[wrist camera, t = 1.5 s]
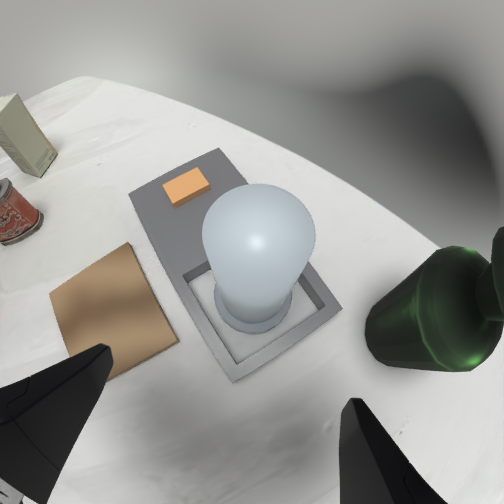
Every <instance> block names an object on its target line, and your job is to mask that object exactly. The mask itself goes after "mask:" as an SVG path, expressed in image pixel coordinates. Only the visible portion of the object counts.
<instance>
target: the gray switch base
mask: <svg viewBox="0 0 504 504" xmlns="http://www.w3.org/2000/svg"><path fill="white" fill-rule="evenodd" d="M243 185H248V183H247V181H246V180H245V179H244V178H243V176H242V175H241V174H240V173H239V171H238V170H237V169H236V168H235V166H234V165H233V164H232V163H231V162H230V160H229V159H228V158H227V157H226V156H225V154H224V153H223V152H222V151H221V149H220V148H217V149H215V150H212V151H210V152H208V153H206V154H204V155H202V156H199V157H197V158H195V159H193V160H191V161H189V162H187V163H185V164H183V165H181V166H179V167H177V168H175V169H173V170H171V171H169V172H167V173H165V174H163V175H162V176H160V177H158V178H156V179H154V180H152V181H150V182H149V183H147V184H145V185H143V186H141V187H140V188H138V189H136V190H134V191H133V192H131V193H129V197H130V199H131V201H132V204H133V206H134V208H135V210H136V212H137V214H138V217H139V219H140V221H141V223H142V225H143V227H144V229H145V231H146V234H147V236H148V238H149V240H150V242H151V244H152V246H153V248H154V250H155V252H156V254H157V256H158V258H159V260H160V262H161V264H162V265H163V267H164V269H165V271H166V273H167V275H168V277H169V279H170V281H171V282H172V284H173V286H174V288H175V290H176V292H177V293H178V295H179V297H180V299H181V301H182V302H183V304H184V306H185V308H186V309H187V311H188V313H189V315H190V316H191V318H192V320H193V322H194V323H195V325H196V327H197V328H198V330H199V332H200V333H201V335H202V337H203V338H204V340H205V342H206V343H207V345H208V346H209V348H210V350H211V351H212V353H213V355H214V356H215V358H216V359H217V361H218V362H219V364H220V365H221V367H222V369H223V370H224V372H225V373H226V375H227V376H228V378H229V379H230V381H231V382H232V383H234V382H236V381H237V380H239V379H241V378H242V377H244V376H246V375H247V374H249V373H251V372H252V371H254V370H256V369H257V368H259V367H260V366H262V365H263V364H265V363H267V362H268V361H270V360H271V359H273V358H274V357H276V356H277V355H279V354H280V353H282V352H283V351H285V350H286V349H288V348H289V347H291V346H292V345H294V344H295V343H297V342H298V341H300V340H301V339H302V338H304V337H305V336H307V335H308V334H310V333H311V332H312V331H314V330H315V329H317V328H318V327H319V326H321V325H322V324H323V323H325V322H326V321H327V320H329V319H330V318H331V317H333V316H334V315H335V314H337V313H338V312H339V311H341V310H342V309H343V308H342V307H341V305H340V304H339V302H338V301H337V300H336V298H335V297H334V296H333V294H332V293H331V291H330V290H329V289H328V287H327V286H326V284H325V283H324V282H323V280H322V279H321V278H320V276H319V275H318V274H317V272H316V271H315V269H314V268H313V267H312V265H311V264H310V263H309V261H308V262H307V264H306V266H305V267H304V269H303V271H302V273H301V274H300V276H299V278H298V279H297V280H298V281H299V283H300V284H301V286H302V287H303V288H304V290H305V291H306V293H307V294H308V295H309V297H310V298H311V300H312V301H313V302H314V304H315V305H316V307H317V308H318V309H319V311H318V312H316V313H315V314H314V315H312V316H311V317H309V318H308V319H307V320H305V321H304V322H302V323H301V324H299V325H298V326H296V327H295V328H294V329H292V330H291V331H289V332H288V333H286V334H285V335H283V336H282V337H280V338H279V339H277V340H276V341H274V342H273V343H271V344H269V345H268V346H266V347H265V348H263V349H262V350H260V351H259V352H257V353H255V354H254V355H252V356H251V357H249V358H247V359H246V360H244V361H242V362H241V363H239V364H238V365H237V363H236V362H235V360H234V359H233V357H232V356H231V354H230V353H229V351H228V350H227V348H226V346H225V345H224V343H223V342H222V340H221V339H220V337H219V335H218V334H217V332H216V331H215V329H214V327H213V326H212V324H211V322H210V321H209V319H208V318H207V316H206V314H205V313H204V311H203V309H202V308H201V306H200V304H199V303H198V301H197V299H196V297H195V296H194V294H193V292H192V291H191V289H190V287H189V285H188V284H187V282H189V281H191V280H192V279H194V278H196V277H197V276H199V275H201V274H203V273H204V272H206V271H208V270H209V269H211V266H210V263H209V260H208V257H207V254H206V251H205V248H204V245H203V240H202V227H203V222H204V219H205V216H206V214H207V212H208V210H209V209H210V207H211V206H212V204H213V203H214V202H215V201H216V200H217V199H218V198H219V197H220V196H222V195H223V194H224V193H226V192H228V191H230V190H232V189H234V188H236V187H240V186H243Z"/></svg>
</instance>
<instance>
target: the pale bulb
mask: <svg viewBox="0 0 504 504" xmlns="http://www.w3.org/2000/svg"><path fill="white" fill-rule="evenodd" d="M315 237H316V234H315V226H314V222H313V219H312V217H311V215H310V213H309V211H308V210H307V208H306V207H305V205H304V204H303V203H302V202H301V201H300V200H299V199H298V198H296V197H295V196H294V195H292V194H291V193H289V192H288V191H286V190H284V189H281V188H279V187H276V186H272V185H266V184H248V185H243V186H240V187H236V188H234V189H232V190H230V191H228V192H226V193H224V194H223V195H222V196H220V197H219V198H218V199H217V200H216V201H215V202H214V203H213V204H212V206H211V207H210V209H209V210H208V212H207V214H206V216H205V219H204V222H203V227H202V240H203V245H204V248H205V251H206V254H207V257H208V260H209V263H210V266H211V269H212V272H213V275H214V278H215V281H216V284H215V289H214V299H215V304H216V307H217V309H218V311H219V313H220V315H221V317H222V318H223V320H224V321H225V322H226V323H227V324H228V325H229V326H230V327H232V328H234V329H235V330H237V331H240V332H243V333H248V334H257V333H262V332H266V331H268V330H270V329H272V328H273V327H275V326H276V325H277V324H278V323H279V322H280V321H281V320H282V319H283V317H284V316H285V315H286V313H287V311H288V309H289V307H290V304H291V299H292V288H293V286H294V285H295V283H296V281H297V279H298V278H299V276H300V274H301V273H302V271H303V269H304V267H305V266H306V264H307V262H308V260H309V258H310V257H311V255H312V252H313V249H314V245H315Z"/></svg>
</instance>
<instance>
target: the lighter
mask: <svg viewBox="0 0 504 504" xmlns="http://www.w3.org/2000/svg"><path fill="white" fill-rule="evenodd" d="M43 220H44V216H43V214H42V213H41V212H40V211H39V210H38V209H35V208H34V207H33V206H32V205H31V204H30V203H29V202H28V201H27V200H26V199H25V198H24V197H23V196H22V195H21V194H20V193H19V192H18V191H17V190H16V189H15V188H14V187H13V186H12V182H11V181H10V180H9V179H8V178H4V179H2V180H0V243H1V244H3V245H4V246H7V245H12V244H15V243H17V242H20V241H22V240H24V239H26V238H27V237H29V236H31V235H32V234H33V233H35V232H36V231H38V230H39V229H40V227H41V226H42V224H43Z"/></svg>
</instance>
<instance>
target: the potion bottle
mask: <svg viewBox="0 0 504 504" xmlns="http://www.w3.org/2000/svg"><path fill="white" fill-rule="evenodd" d="M503 326H504V227H501V228H499V229H498V231H497V233H496V235H495V237H494V239H493V245H492V255H491V263H490V264H489V262H488V261H487V260H486V259H485V258H484V257H482V256H481V255H480V254H479V253H478V252H477V251H474V250H471V249H467V248H464V247H459V246H450V247H446V248H442V249H439V250H436V251H435V252H434V253H433V254H432V255H431V256H430V257H429V258H428V259H427V260H426V261H425V262H424V263H423V264H421V265H420V266H419V267H418V268H417V269H416V270H415V271H414V272H413V273H411V274H410V275H409V276H408V277H407V278H406V279H405V280H403V281H402V282H401V283H400V284H399V285H398V286H396V287H395V288H394V289H393V290H392V291H390V292H389V293H388V294H387V295H386V296H384V297H383V298H382V299H381V300H380V301H379V302H378V303H376V304H375V305H374V306H373V307H372V310H371V312H370V314H369V316H368V318H367V322H366V332H365V335H366V339H367V343H368V347H369V349H370V351H371V352H372V354H373V355H374V356H375V358H376V359H377V360H378V361H380V362H382V363H383V364H385V365H387V366H392V367H400V368H409V369H419V370H430V371H444V372H467V371H471V370H473V369H474V368H476V367H477V366H478V365H480V364H481V363H483V362H484V361H485V360H486V359H487V358H488V357H489V356H490V355H491V354H492V353H493V351H494V349H495V347H496V346H497V344H498V342H499V340H500V338H501V335H502V331H503Z"/></svg>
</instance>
